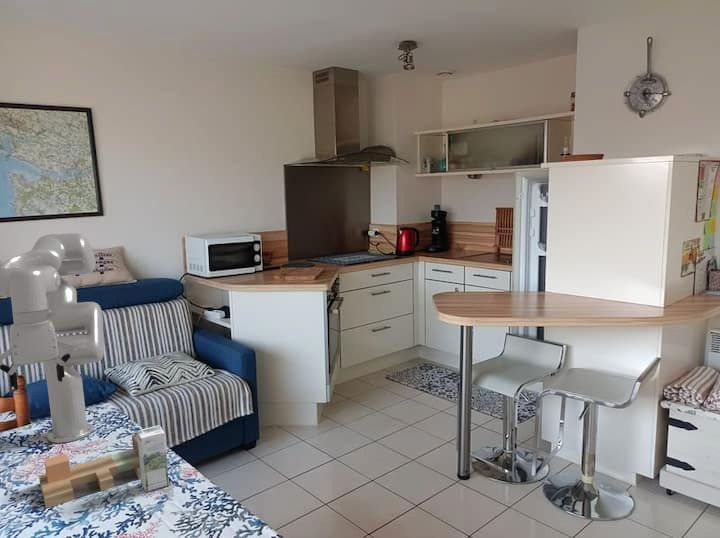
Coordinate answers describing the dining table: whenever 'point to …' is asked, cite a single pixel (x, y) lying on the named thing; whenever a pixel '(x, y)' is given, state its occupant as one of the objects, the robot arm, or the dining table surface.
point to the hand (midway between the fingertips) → (38, 384)
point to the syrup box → (152, 458)
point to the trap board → (93, 477)
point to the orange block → (57, 468)
